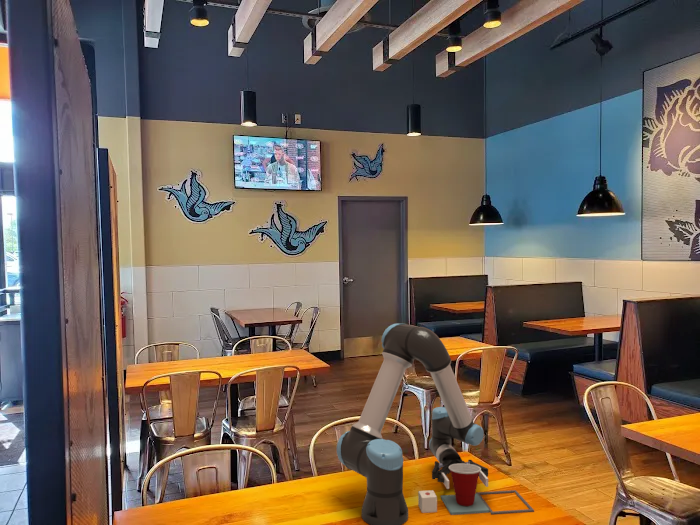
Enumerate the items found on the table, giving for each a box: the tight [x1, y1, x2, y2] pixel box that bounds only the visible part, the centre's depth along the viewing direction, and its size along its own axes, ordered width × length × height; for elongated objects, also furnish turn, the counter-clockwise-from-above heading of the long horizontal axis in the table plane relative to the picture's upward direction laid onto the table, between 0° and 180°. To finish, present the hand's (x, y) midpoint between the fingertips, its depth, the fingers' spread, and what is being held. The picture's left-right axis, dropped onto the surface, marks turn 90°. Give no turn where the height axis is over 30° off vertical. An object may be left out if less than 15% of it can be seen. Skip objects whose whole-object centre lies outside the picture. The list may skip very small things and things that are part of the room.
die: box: [417, 489, 438, 514], centre depth 182 cm, size 5×5×5 cm
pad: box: [440, 492, 490, 516], centre depth 185 cm, size 13×12×1 cm
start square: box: [476, 489, 535, 515], centre depth 186 cm, size 15×15×1 cm
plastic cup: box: [449, 463, 481, 506], centre depth 185 cm, size 11×11×12 cm
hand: (467, 483), depth 181 cm, fingers open, 13 cm apart
